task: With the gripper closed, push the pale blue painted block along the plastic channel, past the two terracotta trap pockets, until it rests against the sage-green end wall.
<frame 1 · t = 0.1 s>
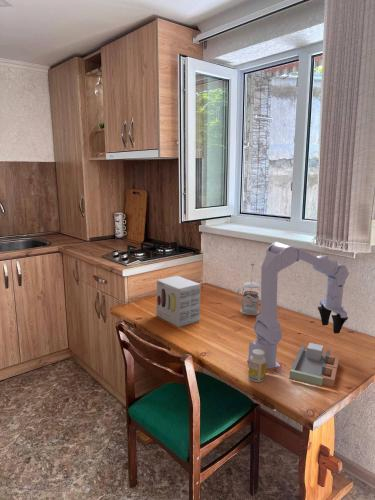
hand: (330, 328, 143), 10 cm above the table, tool pointing down, fingers open, 7 cm apart
block: (314, 356, 141), point 1 cm above the table, touching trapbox
supplement bottle: (256, 378, 126), on the table
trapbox: (310, 368, 133), on the table
french press: (248, 311, 188), on the table
supplement box: (177, 319, 177), on the table
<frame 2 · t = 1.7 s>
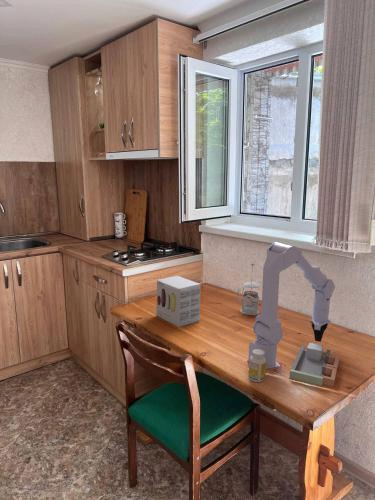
hand: (318, 340, 147), 4 cm above the table, tool pointing down, fingers closed
nothing on the table moved.
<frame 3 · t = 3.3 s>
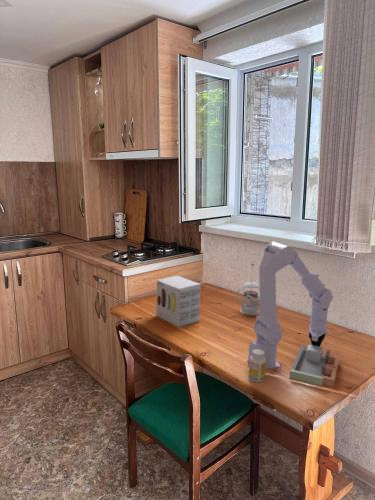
hand: (315, 351, 143), 2 cm above the table, tool pointing down, fingers closed
block: (313, 358, 139), point 1 cm above the table, touching gripper, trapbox
everything else where it was.
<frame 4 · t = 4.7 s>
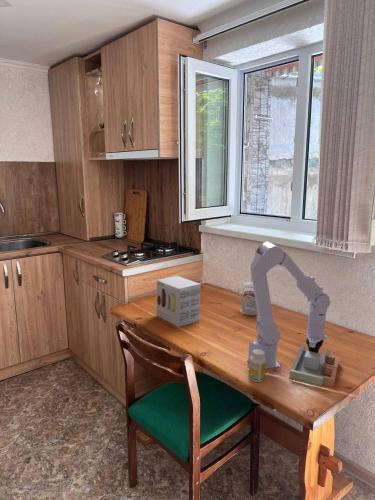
hand: (313, 358, 137), 2 cm above the table, tool pointing down, fingers closed
block: (311, 365, 134), point 1 cm above the table, touching gripper, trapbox
everything else where it was.
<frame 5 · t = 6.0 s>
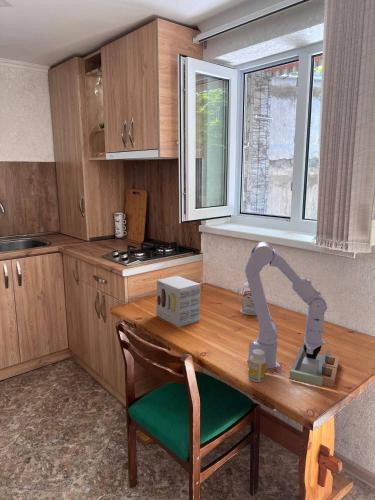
hand: (310, 364, 133), 2 cm above the table, tool pointing down, fingers closed
block: (309, 372, 129), point 1 cm above the table, touching gripper
everything else where it was.
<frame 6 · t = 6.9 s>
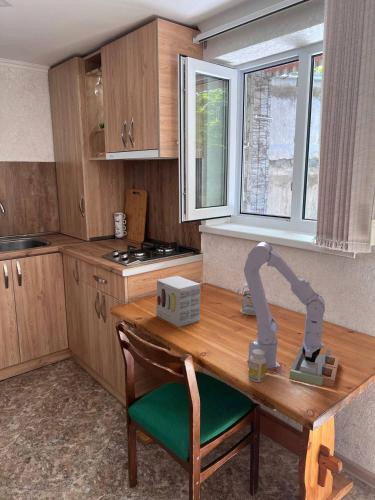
hand: (309, 367, 130), 2 cm above the table, tool pointing down, fingers closed
block: (308, 375, 127), point 1 cm above the table, touching gripper, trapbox
everything else where it was.
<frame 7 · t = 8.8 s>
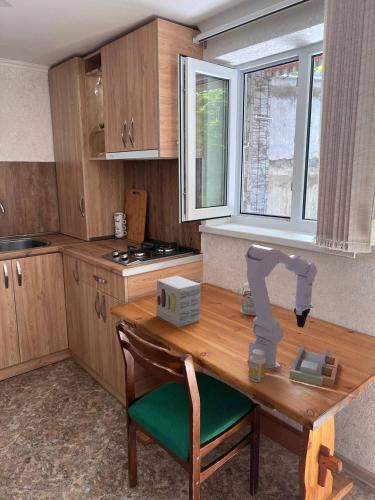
hand: (300, 326, 145), 10 cm above the table, tool pointing down, fingers closed
block: (308, 375, 127), point 1 cm above the table, touching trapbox
everything else where it was.
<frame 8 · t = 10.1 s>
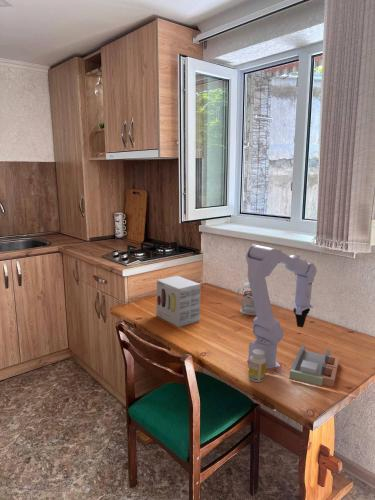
hand: (300, 326, 145), 10 cm above the table, tool pointing down, fingers closed
nothing on the table moved.
at the end: block 0.4 cm from the target spot, point 0.6 cm above the table; block tilted 0° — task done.
